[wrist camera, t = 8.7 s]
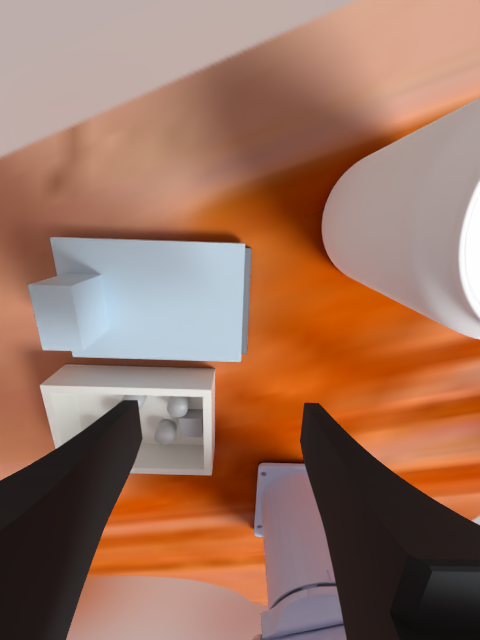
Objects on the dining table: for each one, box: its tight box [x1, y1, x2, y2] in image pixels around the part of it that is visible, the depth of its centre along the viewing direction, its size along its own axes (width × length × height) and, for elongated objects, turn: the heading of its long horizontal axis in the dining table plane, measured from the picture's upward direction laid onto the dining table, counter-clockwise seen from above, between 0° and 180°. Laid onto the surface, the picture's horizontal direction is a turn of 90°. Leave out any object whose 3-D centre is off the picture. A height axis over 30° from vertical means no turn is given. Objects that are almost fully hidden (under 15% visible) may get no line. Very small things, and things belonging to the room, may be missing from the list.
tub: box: [40, 364, 215, 475], centre depth 22 cm, size 8×12×3 cm, turn 88°
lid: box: [28, 237, 245, 362], centre depth 18 cm, size 9×13×4 cm
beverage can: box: [322, 98, 480, 339], centre depth 13 cm, size 8×8×12 cm
